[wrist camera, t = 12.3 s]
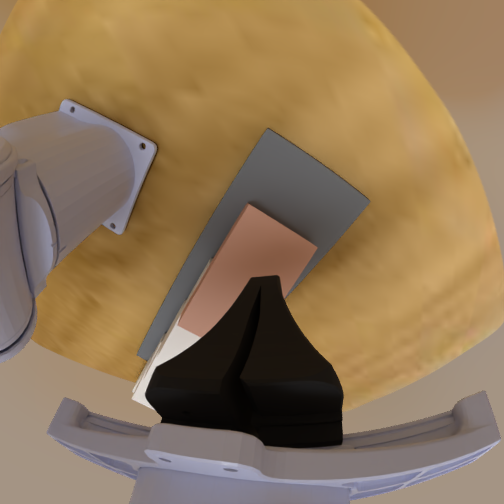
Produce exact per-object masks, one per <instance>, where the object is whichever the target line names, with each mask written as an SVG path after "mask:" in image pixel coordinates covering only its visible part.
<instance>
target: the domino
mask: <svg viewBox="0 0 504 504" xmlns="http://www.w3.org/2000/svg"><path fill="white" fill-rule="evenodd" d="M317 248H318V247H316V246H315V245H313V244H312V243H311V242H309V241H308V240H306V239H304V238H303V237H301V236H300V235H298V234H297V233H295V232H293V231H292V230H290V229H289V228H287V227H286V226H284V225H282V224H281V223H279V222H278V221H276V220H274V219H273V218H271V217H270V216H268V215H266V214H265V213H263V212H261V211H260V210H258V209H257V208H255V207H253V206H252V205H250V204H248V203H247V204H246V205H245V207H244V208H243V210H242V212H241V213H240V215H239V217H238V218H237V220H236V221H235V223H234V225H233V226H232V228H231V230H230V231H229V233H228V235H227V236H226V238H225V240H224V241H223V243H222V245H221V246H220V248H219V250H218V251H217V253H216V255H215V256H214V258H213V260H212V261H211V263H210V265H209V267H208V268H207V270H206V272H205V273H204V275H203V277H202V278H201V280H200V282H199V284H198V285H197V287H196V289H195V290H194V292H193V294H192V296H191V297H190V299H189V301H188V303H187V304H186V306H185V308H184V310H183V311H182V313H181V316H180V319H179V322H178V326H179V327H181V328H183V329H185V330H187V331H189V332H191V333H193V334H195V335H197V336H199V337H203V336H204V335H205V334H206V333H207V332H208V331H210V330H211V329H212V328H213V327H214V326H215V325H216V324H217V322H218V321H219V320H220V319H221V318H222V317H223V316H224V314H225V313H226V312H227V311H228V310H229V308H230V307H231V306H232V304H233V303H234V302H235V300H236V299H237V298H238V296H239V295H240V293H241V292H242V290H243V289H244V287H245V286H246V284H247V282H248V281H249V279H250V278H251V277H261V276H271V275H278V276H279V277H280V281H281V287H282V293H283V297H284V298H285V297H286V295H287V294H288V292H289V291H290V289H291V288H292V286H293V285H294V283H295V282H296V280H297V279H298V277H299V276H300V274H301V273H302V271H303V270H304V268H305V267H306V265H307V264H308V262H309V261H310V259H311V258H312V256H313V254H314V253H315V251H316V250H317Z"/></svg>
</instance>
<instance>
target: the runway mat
mask: <svg viewBox="0 0 504 504" xmlns="http://www.w3.org/2000/svg"><path fill="white" fill-rule="evenodd" d="M247 203H248V204H250V205H252V206H253V207H255V208H257V209H258V210H260V211H261V212H263V213H265V214H266V215H268V216H270V217H271V218H273V219H274V220H276V221H278V222H279V223H281V224H282V225H284V226H286V227H287V228H289V229H290V230H292V231H293V232H295V233H297V234H298V235H300V236H301V237H303V238H304V239H306V240H308V241H309V242H311V243H312V244H313V245H315V246H316V247H318V248H317V250H316V251H315V253H314V254H313V256H312V258H311V259H310V261H309V262H308V264H307V265H306V267H305V268H304V270H303V271H302V273H301V274H300V276H299V277H298V279H297V280H296V282H295V283H294V285H293V286H292V288H291V289H290V291H289V292H288V294H287V295H286V297H287V296H288V295H289V294H290V293H291V292H292V291H293V290H294V289H295V288H296V286H297V285H298V284H299V283H300V282H301V281H302V280H303V279H304V278H305V277H306V276H307V275H308V273H309V272H310V271H311V270H312V269H313V268H314V267H315V266H316V265H317V263H318V262H319V261H320V260H321V259H322V258H323V257H324V256H325V254H326V253H327V252H328V251H329V250H330V249H331V248H332V246H333V245H334V244H335V243H336V242H337V241H338V240H339V238H340V237H341V236H342V235H343V234H344V233H345V231H346V230H347V229H348V228H349V227H350V226H351V224H352V223H353V222H354V221H355V220H356V218H357V217H358V216H359V215H360V214H361V212H362V211H363V210H364V209H365V208H366V206H367V205H368V204H369V203H370V200H369V199H368V198H367V197H365V196H364V195H363V194H362V193H360V192H359V191H358V190H356V189H355V188H354V187H353V186H351V185H350V184H349V183H347V182H346V181H345V180H343V179H342V178H341V177H339V176H338V175H337V174H335V173H334V172H333V171H331V170H330V169H329V168H327V167H326V166H324V165H323V164H322V163H320V162H319V161H317V160H316V159H315V158H313V157H312V156H310V155H309V154H307V153H306V152H304V151H303V150H301V149H300V148H298V147H297V146H295V145H294V144H292V143H291V142H289V141H288V140H286V139H285V138H283V137H282V136H280V135H278V134H277V133H275V132H274V131H272V130H270V129H269V128H267V130H266V131H265V133H264V134H263V136H262V137H261V139H260V140H259V142H258V143H257V145H256V146H255V148H254V149H253V151H252V152H251V154H250V155H249V157H248V159H247V160H246V162H245V163H244V165H243V166H242V168H241V170H240V171H239V173H238V174H237V176H236V177H235V179H234V181H233V182H232V184H231V185H230V187H229V189H228V190H227V192H226V194H225V195H224V197H223V198H222V200H221V202H220V203H219V205H218V207H217V208H216V210H215V212H214V213H213V215H212V217H211V218H210V220H209V222H208V223H207V225H206V227H205V229H204V230H203V232H202V234H201V235H200V237H199V239H198V241H197V242H196V244H195V246H194V248H193V249H192V251H191V253H190V255H189V256H188V258H187V260H186V262H185V264H184V265H183V267H182V269H181V271H180V273H179V274H178V276H177V278H176V280H175V282H174V283H173V285H172V287H171V289H170V291H169V293H168V295H167V296H166V298H165V300H164V302H163V304H162V306H161V308H160V310H159V312H158V314H157V315H156V317H155V319H154V321H153V323H152V325H151V327H150V329H149V331H148V333H147V335H146V337H145V339H144V341H143V343H142V345H141V347H140V349H139V351H138V353H137V356H139V357H141V358H143V359H145V360H147V361H148V360H149V358H150V357H151V355H152V353H153V352H155V350H156V348H157V346H158V344H159V342H160V340H161V338H162V337H163V335H164V333H166V334H167V332H168V330H169V328H170V326H171V324H172V323H173V321H174V319H175V317H176V315H177V313H178V312H179V310H180V308H181V306H182V304H183V303H184V301H185V300H187V299H188V297H189V295H190V293H191V291H192V290H193V288H194V286H195V284H196V283H197V281H198V279H199V277H200V276H201V274H202V272H203V270H204V269H205V267H206V265H207V264H208V262H209V260H210V258H212V259H213V258H214V256H215V255H216V253H217V251H218V250H219V248H220V246H221V245H222V243H223V241H224V240H225V238H226V236H227V235H228V233H229V231H230V230H231V228H232V226H233V225H234V223H235V221H236V220H237V218H238V217H239V215H240V213H241V212H242V210H243V208H244V207H245V205H246V204H247ZM286 297H285V298H286ZM285 298H284V299H285Z"/></svg>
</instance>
